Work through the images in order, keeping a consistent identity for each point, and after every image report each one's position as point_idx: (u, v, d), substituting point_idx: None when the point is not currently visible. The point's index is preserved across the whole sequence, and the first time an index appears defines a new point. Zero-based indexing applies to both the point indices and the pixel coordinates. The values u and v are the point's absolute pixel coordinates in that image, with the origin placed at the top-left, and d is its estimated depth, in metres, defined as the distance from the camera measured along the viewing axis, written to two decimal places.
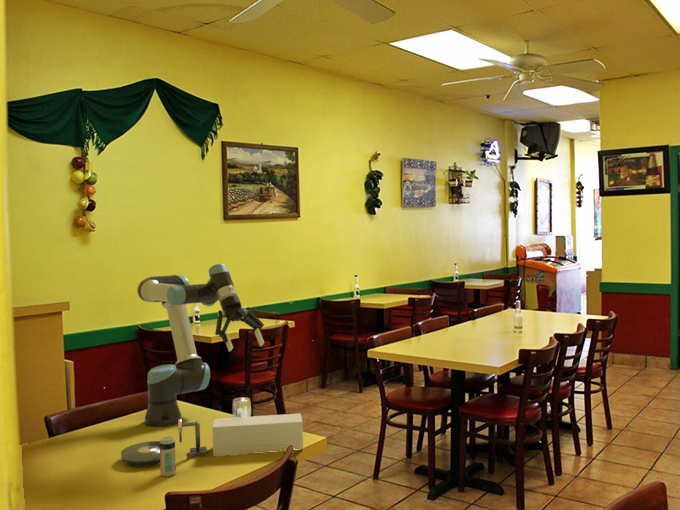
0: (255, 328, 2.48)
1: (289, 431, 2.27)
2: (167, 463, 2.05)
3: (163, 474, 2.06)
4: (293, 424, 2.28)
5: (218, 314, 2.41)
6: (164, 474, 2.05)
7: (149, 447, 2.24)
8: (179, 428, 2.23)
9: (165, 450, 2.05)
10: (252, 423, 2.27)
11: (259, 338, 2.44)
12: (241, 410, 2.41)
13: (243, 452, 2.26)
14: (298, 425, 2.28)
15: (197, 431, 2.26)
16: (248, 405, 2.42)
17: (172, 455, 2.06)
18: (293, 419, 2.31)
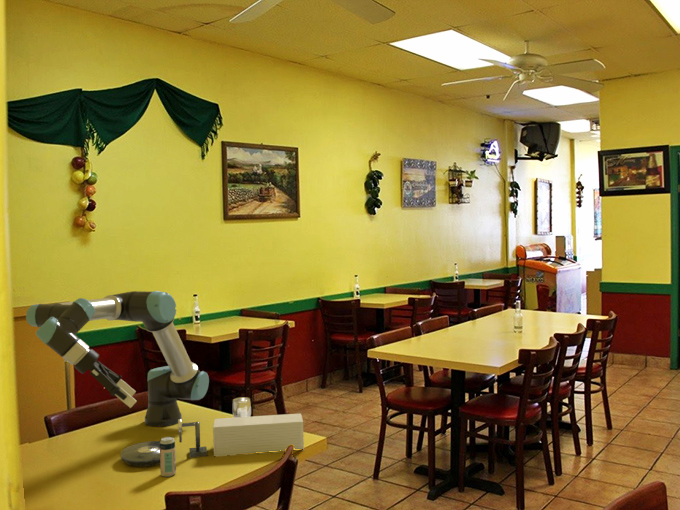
0: (116, 387, 1.95)
1: (290, 431, 2.28)
2: (167, 463, 2.05)
3: (163, 474, 2.06)
4: (293, 424, 2.28)
5: None
6: (164, 474, 2.05)
7: (149, 447, 2.24)
8: (179, 428, 2.23)
9: (165, 450, 2.05)
10: (252, 423, 2.27)
11: None
12: (241, 410, 2.41)
13: (244, 452, 2.26)
14: (299, 425, 2.28)
15: (197, 431, 2.26)
16: (248, 405, 2.42)
17: (172, 455, 2.06)
18: (293, 419, 2.31)
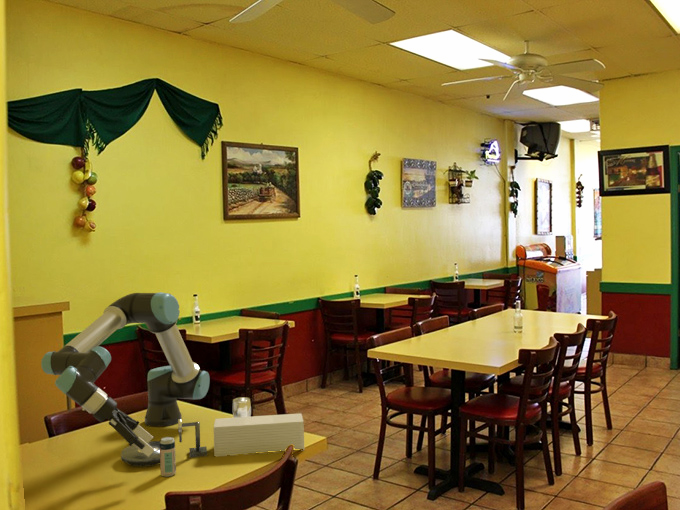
0: (134, 436, 1.97)
1: (290, 431, 2.28)
2: (167, 463, 2.05)
3: (163, 474, 2.06)
4: (294, 424, 2.28)
5: None
6: (164, 474, 2.05)
7: None
8: (179, 428, 2.23)
9: (165, 450, 2.05)
10: (253, 423, 2.27)
11: None
12: (241, 410, 2.41)
13: (244, 452, 2.26)
14: (299, 425, 2.28)
15: (197, 431, 2.26)
16: (248, 405, 2.42)
17: (172, 455, 2.06)
18: (294, 419, 2.31)
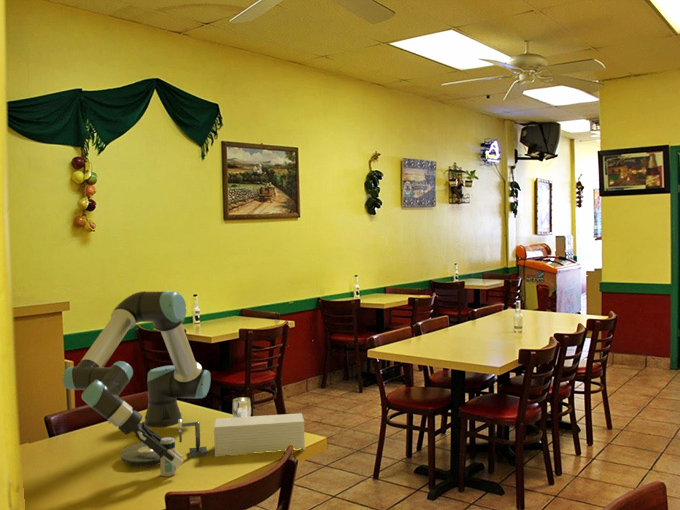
0: (164, 449, 2.04)
1: (291, 431, 2.28)
2: (167, 463, 2.05)
3: (163, 474, 2.06)
4: (294, 424, 2.28)
5: None
6: (164, 474, 2.05)
7: None
8: (179, 428, 2.23)
9: None
10: (253, 423, 2.27)
11: None
12: (241, 410, 2.41)
13: (244, 452, 2.26)
14: (299, 425, 2.28)
15: (197, 431, 2.26)
16: (248, 405, 2.42)
17: None
18: (294, 419, 2.31)
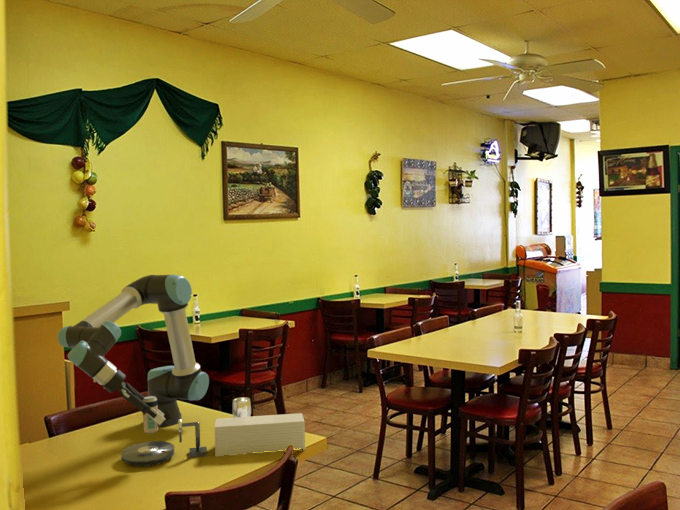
0: None
1: (291, 430, 2.28)
2: (150, 420, 2.16)
3: (146, 431, 2.16)
4: (294, 424, 2.28)
5: None
6: (147, 431, 2.16)
7: (149, 447, 2.24)
8: (179, 428, 2.23)
9: None
10: (254, 423, 2.27)
11: None
12: (241, 410, 2.41)
13: (245, 452, 2.26)
14: (300, 425, 2.28)
15: (197, 431, 2.26)
16: (248, 405, 2.42)
17: None
18: (295, 419, 2.31)
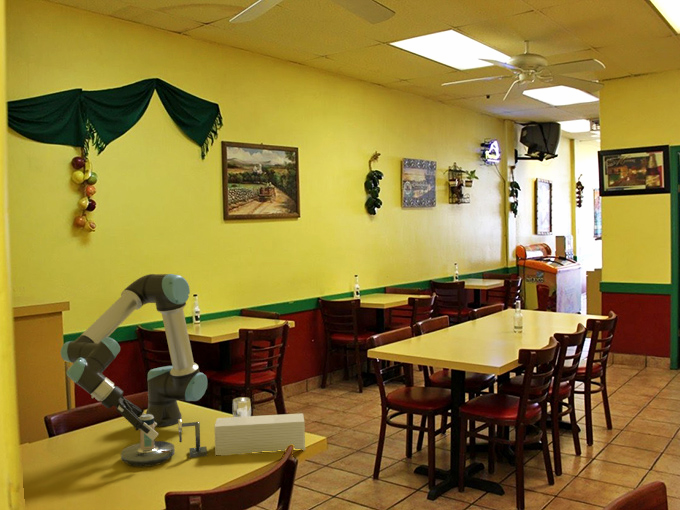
0: (140, 422, 2.15)
1: (291, 431, 2.28)
2: (146, 438, 2.20)
3: (143, 448, 2.21)
4: (294, 424, 2.28)
5: None
6: (143, 448, 2.21)
7: None
8: (179, 428, 2.23)
9: None
10: (254, 423, 2.27)
11: None
12: (241, 410, 2.41)
13: (245, 451, 2.26)
14: (300, 425, 2.28)
15: (197, 431, 2.26)
16: (248, 405, 2.42)
17: None
18: (295, 419, 2.31)
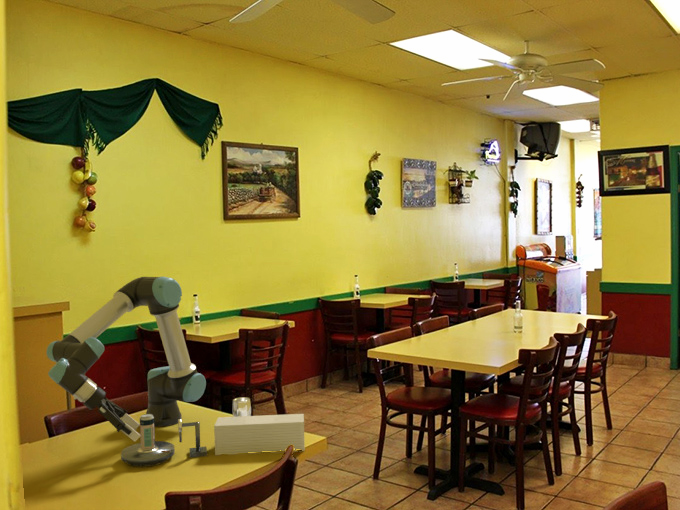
0: (122, 423, 2.13)
1: (291, 431, 2.27)
2: (146, 438, 2.20)
3: (143, 448, 2.21)
4: (294, 424, 2.27)
5: None
6: (144, 448, 2.21)
7: None
8: (179, 428, 2.23)
9: (144, 425, 2.20)
10: (253, 423, 2.28)
11: None
12: (241, 410, 2.41)
13: (244, 451, 2.26)
14: (299, 425, 2.27)
15: (197, 431, 2.26)
16: (248, 405, 2.42)
17: (151, 431, 2.21)
18: (295, 419, 2.31)
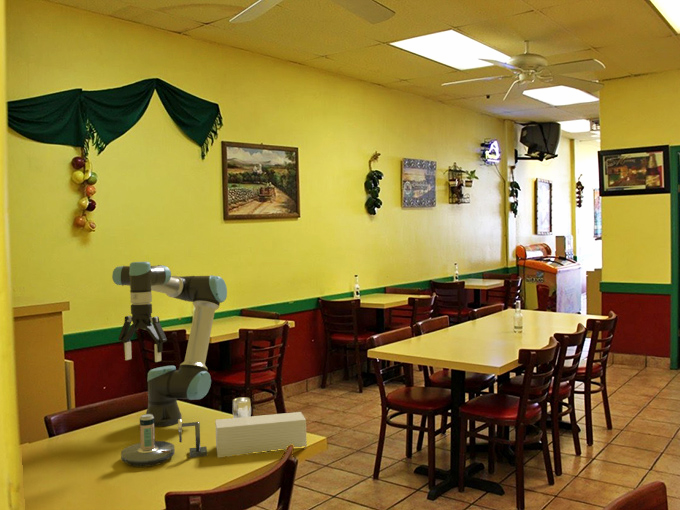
0: (159, 340, 2.32)
1: (293, 429, 2.29)
2: (146, 438, 2.20)
3: (143, 448, 2.21)
4: (296, 422, 2.30)
5: None
6: (144, 448, 2.21)
7: None
8: (179, 428, 2.23)
9: (144, 425, 2.20)
10: (256, 423, 2.27)
11: None
12: (241, 410, 2.41)
13: (247, 452, 2.26)
14: (301, 423, 2.30)
15: (197, 431, 2.26)
16: (248, 405, 2.42)
17: (151, 431, 2.21)
18: (295, 417, 2.33)
